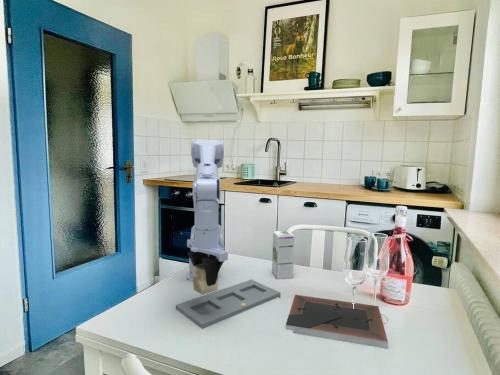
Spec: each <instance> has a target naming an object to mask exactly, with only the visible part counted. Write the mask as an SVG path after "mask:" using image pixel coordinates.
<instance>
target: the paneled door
mask: <svg viewBox="0 0 500 375" xmlns="http://www.w3.org/2000/svg"><path fill="white" fill-rule="evenodd" d="M281 295H282V294H281V292H280V291H278V290H276V289H273V288H271V287H269V286H267V285H265V284H262V283H261V282H258V281H256V280H254V279H250V280H249V279H248V280H246V281H243V282H239V283H236V284H233V285H231V286H228V287H225V288H222V289H218V290H216V291H213V292H210V293H207V294H204V295H201V296H199V297H195V298H192V299H189V300H186V301H183V302H181V303H178V304H176V305H175V310H176V311H178V312H179V313H180V314H182V315H183V316H185V317H186V318H187V319H189V320H190V321H192V323H194V324H195V325H197V326H198V327H199V328H201V329H202V330H203V329H205V328H208V327H210V326H212V325H213V326H214V324H218V323H219V322H222V321H224V320H225V321H226V320H227V319H229V318H232V317H234V316H237V315H239V314H241V313H244V312H246V311H248V310H251V309H254V308H255V307H258V306H261V305H263V304H265V303H267V302H270V301H273V300H274V299H277V298H278V299H281Z"/></svg>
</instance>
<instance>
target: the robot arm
mask: <svg viewBox="0 0 500 375" xmlns="http://www.w3.org/2000/svg"><path fill="white" fill-rule="evenodd" d="M190 145H191V146H190V148H191V149H190V156H191V163H192V166H193V168H196V170H195V180H193V182H192V200H193V211H194V225H193V226H191V229H190V230H191V232H190V238H188V239H187V240H186V246H187V248H190V251H188V252H187V256H188V259H189V260H188V262H189V263H188V276H186V279H187V280H190V281H193V266H196V265H199V264H204V267H205V272H206V282H207V285H208V286H211V285H214V284H216V280H217V276H218V283H219V282H221V281H224V280H225V279H223V278H221V277H220V276H219V273H220V270H221V268H222V266H223V264H224V263H225V261H226V262H227V261H228V259H229V253H228V251H226V250H225V249H224V234H223V226H222V225H220V224H219V211H220V210H219V206H220V204H219V203H220V201H221V197H222V196H221V193H222V192H221V190H222V188H221V187H222V186H221V178H220V177H219V169H220V168H222V167H223V164H224V158H225V141H224V140H223V138H221V139H206V138H205V139H204V138H193V139H192V140H191V144H190Z"/></svg>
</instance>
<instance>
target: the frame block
mask: <svg viewBox="0 0 500 375" xmlns="http://www.w3.org/2000/svg"><path fill="white" fill-rule="evenodd" d="M218 277H219V275H218V276H217V280H216V284H214V285H211V286H208V285H207V282H206V272H205V267H204V264H199V265H196V266H193V288H192V289H193V290H194V291H196V292H197V293H198V294H199V295H201V296H204V295H207V294H210V293H213V292H216V291H219V282H218Z"/></svg>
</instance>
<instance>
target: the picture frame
mask: <svg viewBox="0 0 500 375" xmlns="http://www.w3.org/2000/svg"><path fill="white" fill-rule="evenodd" d="M291 303H292V304H291V307H290V310H289V313H288V316H287V319H286V322H285V330H290V331H292V334H299V335H306V336H311V337H316V338H323V339H329V340H335V341H341V342H347V343H351V344H352V343H353V344H357V345H363V346H369V347H370V346H371V347H377V348H380V349H381V348H384V349H388V345H389V344H388V343H389V340H388V338H387V334H386V330H385V325H384V323H383V318H382V314H381V311H380V307H379V305H374V304H373V305H371V304H365V303H360V302H359V303H358V302H354V303H355V304H354V309H353V304H352V303H353V302H351V301H343V300H337V299H331V298H323V297H322V298H321V297H314V296H307V295H300V294H294V298H293V300H292V302H291Z"/></svg>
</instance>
